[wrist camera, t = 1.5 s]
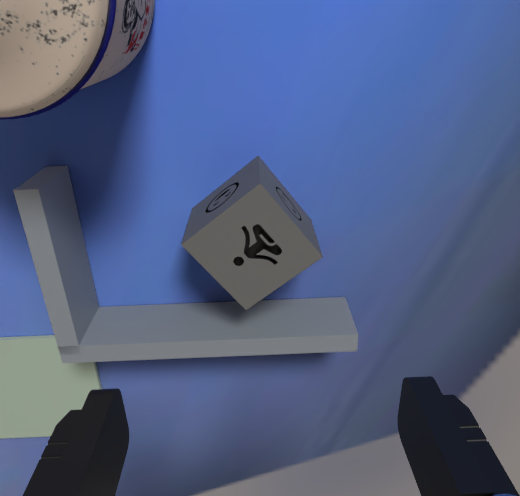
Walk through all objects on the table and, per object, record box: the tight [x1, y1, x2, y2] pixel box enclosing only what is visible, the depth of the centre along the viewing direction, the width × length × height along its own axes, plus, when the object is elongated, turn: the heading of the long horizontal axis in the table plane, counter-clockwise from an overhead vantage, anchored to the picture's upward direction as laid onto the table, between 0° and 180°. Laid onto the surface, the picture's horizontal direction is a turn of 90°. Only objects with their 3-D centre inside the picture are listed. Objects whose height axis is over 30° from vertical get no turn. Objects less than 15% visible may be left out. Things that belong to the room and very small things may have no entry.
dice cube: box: [181, 156, 323, 310], centre depth 25 cm, size 5×5×5 cm
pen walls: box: [13, 166, 358, 363], centre depth 26 cm, size 17×11×4 cm, turn 92°
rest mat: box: [0, 335, 102, 438], centre depth 33 cm, size 9×9×1 cm
